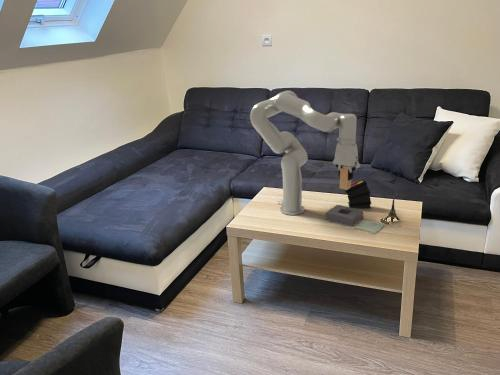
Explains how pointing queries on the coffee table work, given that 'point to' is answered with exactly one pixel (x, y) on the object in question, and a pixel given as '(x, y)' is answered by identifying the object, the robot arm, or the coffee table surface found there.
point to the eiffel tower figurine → (390, 215)
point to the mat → (369, 226)
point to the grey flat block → (344, 215)
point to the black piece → (359, 195)
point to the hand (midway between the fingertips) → (345, 178)
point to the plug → (344, 178)
